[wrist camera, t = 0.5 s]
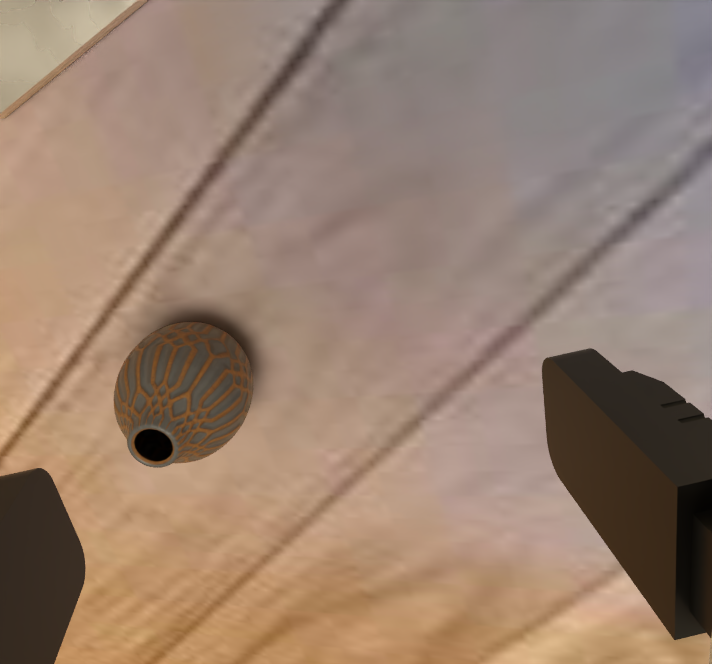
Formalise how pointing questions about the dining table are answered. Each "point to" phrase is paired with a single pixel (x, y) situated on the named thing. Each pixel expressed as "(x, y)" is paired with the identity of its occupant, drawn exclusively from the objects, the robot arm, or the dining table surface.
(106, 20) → the cup bracket
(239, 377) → the vase
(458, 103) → the dining table surface
